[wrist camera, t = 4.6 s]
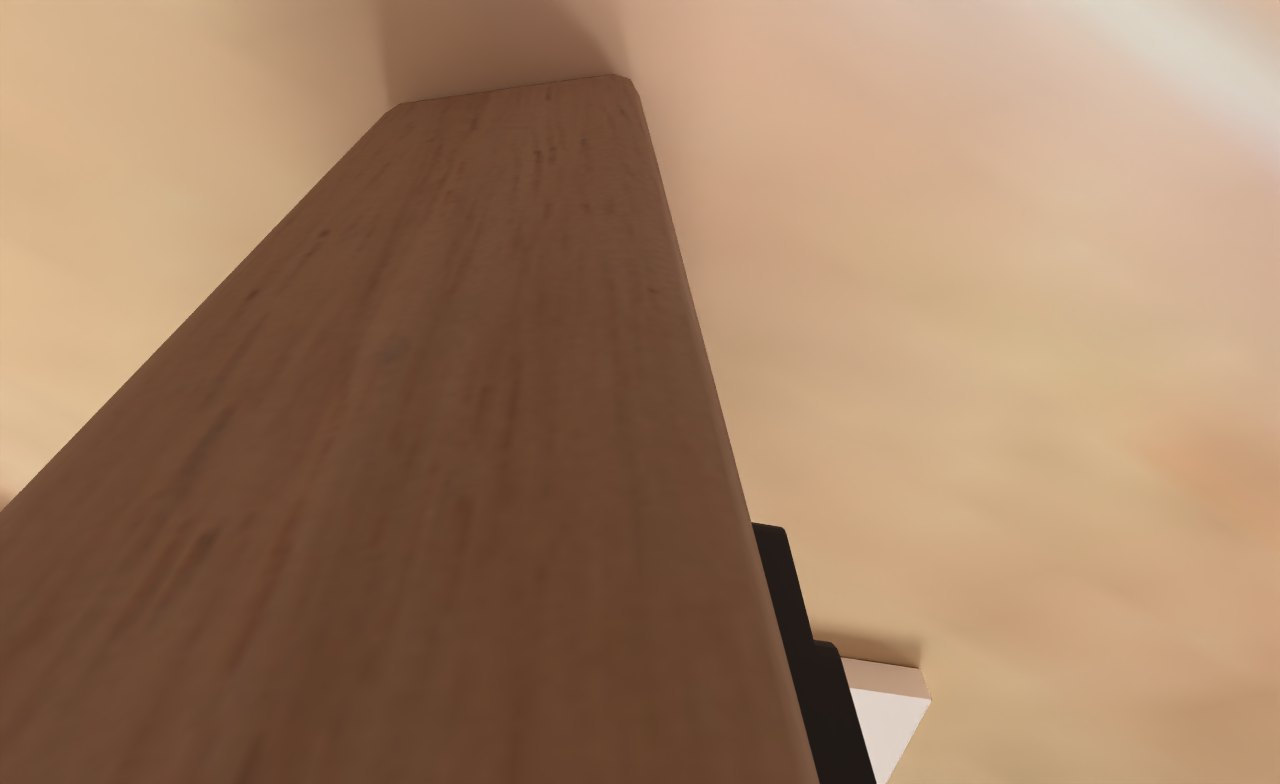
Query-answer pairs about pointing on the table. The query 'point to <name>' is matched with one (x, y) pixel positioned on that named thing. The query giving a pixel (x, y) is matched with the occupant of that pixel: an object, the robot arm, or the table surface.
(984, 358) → the table surface
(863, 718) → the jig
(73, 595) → the wooden block
